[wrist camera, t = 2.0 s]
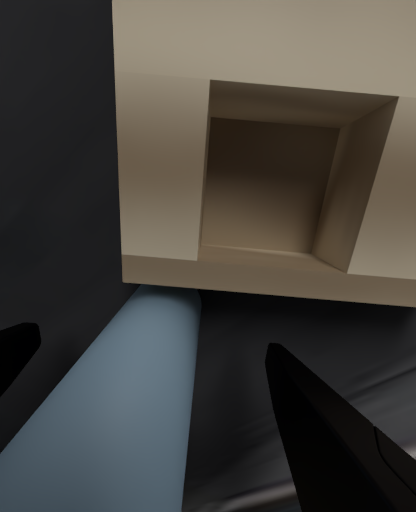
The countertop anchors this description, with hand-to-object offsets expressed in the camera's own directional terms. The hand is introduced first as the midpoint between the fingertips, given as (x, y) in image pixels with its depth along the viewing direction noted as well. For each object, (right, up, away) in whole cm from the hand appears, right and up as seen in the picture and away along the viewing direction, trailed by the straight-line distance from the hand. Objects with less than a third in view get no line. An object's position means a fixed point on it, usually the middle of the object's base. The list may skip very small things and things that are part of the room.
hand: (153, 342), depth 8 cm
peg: (0, +1, +3) cm, 3 cm away
